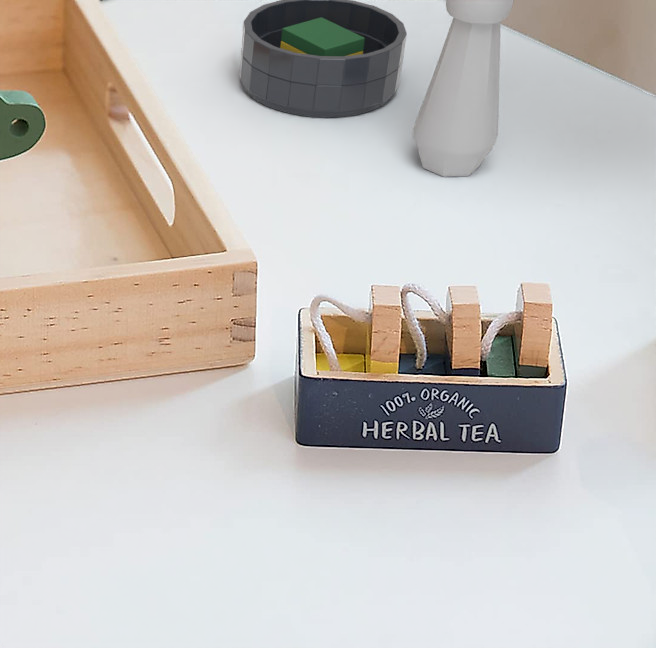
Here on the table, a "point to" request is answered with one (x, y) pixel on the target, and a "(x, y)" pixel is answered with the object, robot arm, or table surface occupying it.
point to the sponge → (321, 39)
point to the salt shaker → (463, 91)
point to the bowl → (321, 59)
